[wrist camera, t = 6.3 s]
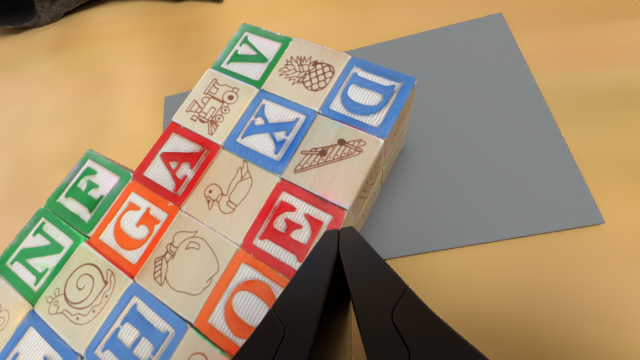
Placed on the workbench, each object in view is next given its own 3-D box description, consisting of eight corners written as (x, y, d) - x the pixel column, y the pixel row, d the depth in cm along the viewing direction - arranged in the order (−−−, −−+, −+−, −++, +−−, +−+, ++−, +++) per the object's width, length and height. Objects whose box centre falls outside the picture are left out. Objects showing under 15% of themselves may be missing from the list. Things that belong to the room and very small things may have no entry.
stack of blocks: (408, 144, 18) (245, 78, 21) (424, 76, 12) (196, 1, 15) (201, 542, 13) (43, 371, 17) (64, 747, 7) (-132, 417, 11)
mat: (601, 224, 15) (605, 222, 14) (157, 296, 17) (154, 296, 17) (499, 16, 20) (501, 12, 19) (167, 99, 22) (164, 97, 22)
